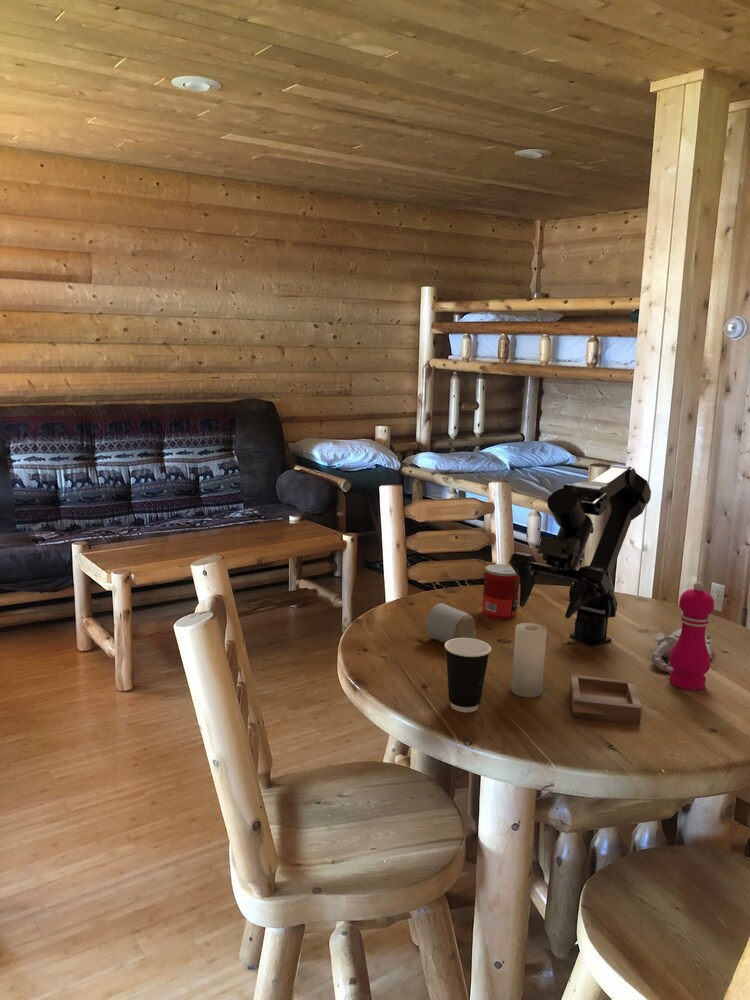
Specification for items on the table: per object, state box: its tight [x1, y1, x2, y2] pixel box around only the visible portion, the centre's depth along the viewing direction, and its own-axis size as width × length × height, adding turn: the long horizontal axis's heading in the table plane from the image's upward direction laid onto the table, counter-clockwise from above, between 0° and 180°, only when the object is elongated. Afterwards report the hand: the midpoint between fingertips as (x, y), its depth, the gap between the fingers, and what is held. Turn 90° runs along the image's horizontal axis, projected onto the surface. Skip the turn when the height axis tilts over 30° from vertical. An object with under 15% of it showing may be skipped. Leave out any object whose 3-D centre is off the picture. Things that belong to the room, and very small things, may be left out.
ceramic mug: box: [425, 602, 477, 644], centre depth 167 cm, size 11×8×8 cm
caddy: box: [569, 674, 643, 726], centre depth 139 cm, size 11×11×3 cm
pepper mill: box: [668, 581, 715, 691], centre depth 149 cm, size 7×7×20 cm
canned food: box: [482, 563, 520, 620], centre depth 184 cm, size 8×8×11 cm
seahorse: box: [650, 628, 714, 674], centre depth 162 cm, size 5×12×20 cm
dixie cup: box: [444, 638, 492, 713], centre depth 137 cm, size 8×8×11 cm
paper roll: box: [510, 622, 548, 698], centre depth 144 cm, size 6×6×12 cm
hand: (543, 611), depth 149 cm, fingers open, 9 cm apart
